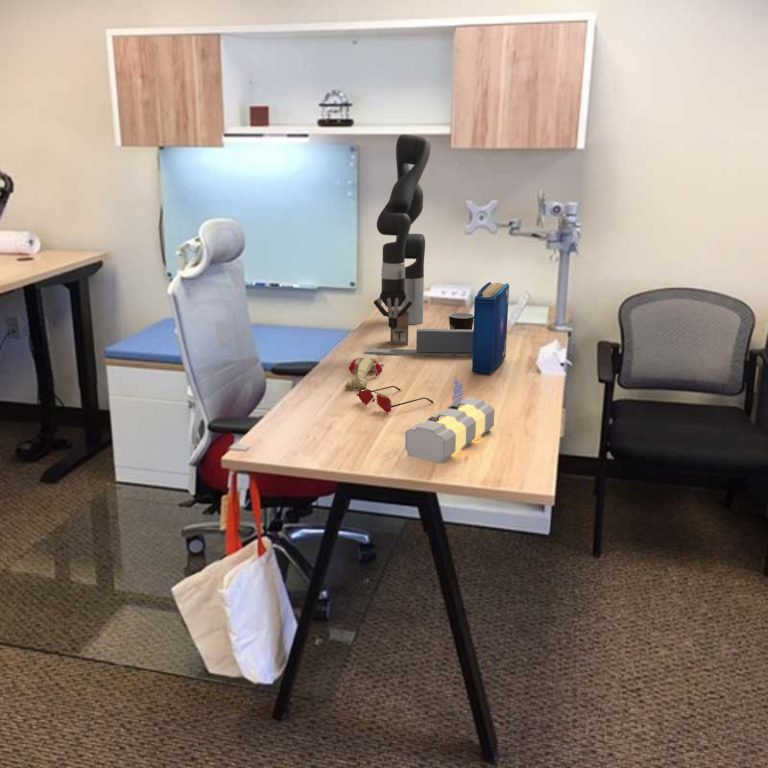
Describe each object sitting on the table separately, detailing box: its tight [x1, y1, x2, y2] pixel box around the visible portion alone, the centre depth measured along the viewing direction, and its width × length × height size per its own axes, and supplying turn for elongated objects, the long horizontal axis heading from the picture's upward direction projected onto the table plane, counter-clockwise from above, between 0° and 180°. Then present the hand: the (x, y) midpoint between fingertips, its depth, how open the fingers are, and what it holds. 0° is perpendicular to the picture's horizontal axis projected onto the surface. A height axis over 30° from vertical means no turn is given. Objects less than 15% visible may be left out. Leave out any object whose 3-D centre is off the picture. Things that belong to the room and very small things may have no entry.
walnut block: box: [389, 307, 409, 346], centre depth 280 cm, size 6×6×12 cm
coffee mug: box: [448, 312, 474, 330], centre depth 282 cm, size 12×9×10 cm
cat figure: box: [345, 353, 385, 391], centre depth 242 cm, size 10×9×25 cm
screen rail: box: [364, 348, 473, 357], centre depth 270 cm, size 4×40×1 cm, turn 88°
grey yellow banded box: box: [404, 378, 495, 464], centre depth 193 cm, size 25×10×13 cm, turn 147°
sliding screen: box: [415, 328, 474, 353], centre depth 268 cm, size 3×22×7 cm, turn 88°
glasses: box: [356, 385, 434, 413], centre depth 222 cm, size 14×16×5 cm
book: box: [471, 281, 510, 375], centre depth 252 cm, size 22×7×25 cm, turn 161°
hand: (392, 328), depth 268 cm, fingers closed
